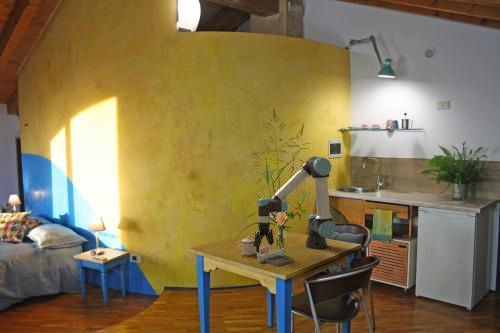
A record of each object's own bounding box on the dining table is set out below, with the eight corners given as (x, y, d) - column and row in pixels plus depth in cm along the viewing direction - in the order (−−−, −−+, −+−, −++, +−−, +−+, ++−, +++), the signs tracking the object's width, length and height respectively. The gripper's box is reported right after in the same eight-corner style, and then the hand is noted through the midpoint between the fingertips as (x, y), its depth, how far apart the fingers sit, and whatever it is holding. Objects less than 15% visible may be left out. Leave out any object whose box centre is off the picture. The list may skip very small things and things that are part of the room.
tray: (279, 257, 265) (279, 254, 265) (293, 261, 256) (293, 259, 256) (264, 261, 256) (264, 259, 256) (277, 266, 247) (277, 263, 247)
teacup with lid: (251, 251, 280) (250, 234, 279) (257, 254, 272) (257, 237, 271) (235, 253, 275) (235, 236, 274) (241, 257, 267) (241, 239, 266)
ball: (264, 253, 274) (264, 244, 273) (270, 255, 269) (270, 246, 268) (257, 255, 269) (257, 246, 269) (263, 257, 265) (263, 248, 264)
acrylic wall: (282, 255, 271) (282, 248, 270) (284, 255, 269) (284, 248, 269) (257, 262, 256) (257, 254, 255) (259, 262, 254) (259, 255, 254)
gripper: (271, 218, 277) (271, 251, 279) (247, 223, 263) (247, 257, 265) (279, 220, 272) (279, 253, 273) (255, 225, 258) (255, 260, 259)
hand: (263, 255), depth 269 cm, fingers open, 9 cm apart
